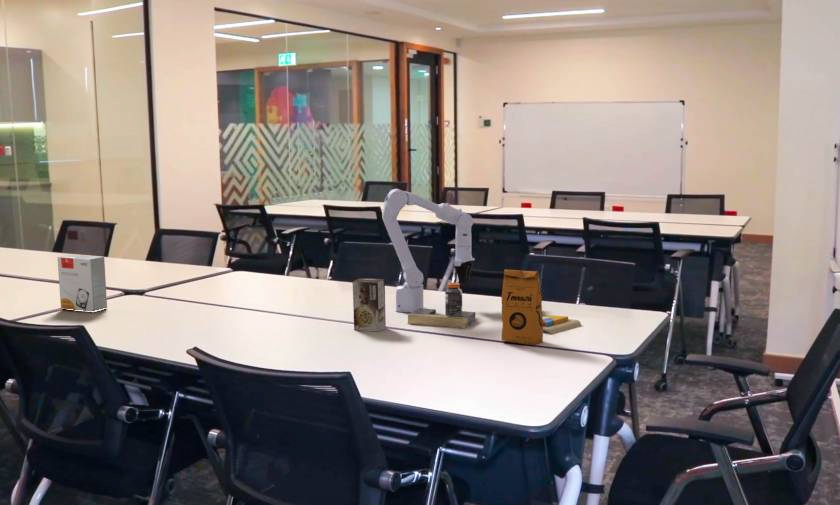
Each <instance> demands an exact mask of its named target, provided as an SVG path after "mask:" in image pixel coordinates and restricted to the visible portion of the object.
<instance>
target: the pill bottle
mask: <svg viewBox="0 0 840 505" xmlns="http://www.w3.org/2000/svg"><path fill="white" fill-rule="evenodd" d="M444 295H445V296H444V303H445V304H444V305H445V316H452V315H453V314H455V313H457V312H458V311H463V290H462V289H461V288H460V283H459V282H448V283H447V289H445V294H444Z"/></svg>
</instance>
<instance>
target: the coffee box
mask: <svg viewBox="0 0 840 505" xmlns="http://www.w3.org/2000/svg"><path fill="white" fill-rule="evenodd" d="M385 280H386V279H385V278H384V279H383V278H358V279H355V280H353V281H351V282H352V299H353V300H352V301H353V303H352V304H353V306H352V307H353V310H352V311H353V330H354V329H356V330H355V331H365V330H367V331H368V332H380V331H383V330H384V329H385V328H386V326H387V324H386V323H387V322H386V320H387V319H386V284H385Z"/></svg>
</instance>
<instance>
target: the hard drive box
mask: <svg viewBox="0 0 840 505" xmlns="http://www.w3.org/2000/svg"><path fill="white" fill-rule="evenodd" d="M57 266H58V284H59V286H58V287H59V300H60V309H61V308H66V309H73V310H83V311H95V310H99V309H103V308H107V309H108V301H107V300H108V298H107V283H106V281H107V280H106V266H105V257H104V256H101V255H100V256H97V255H87V254H85V255H83V254H68V255H67V254H66V255H61V256H57Z"/></svg>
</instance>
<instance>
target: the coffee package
mask: <svg viewBox="0 0 840 505" xmlns="http://www.w3.org/2000/svg"><path fill="white" fill-rule="evenodd" d="M539 275H540V274H539V271H538V270H537V271H533V270H516V269H504V272H503V282H502V292H501V315H502V316H501V321H502V326H501V327H502V329H501V341H502V342H509V343H514V344H520V345H530V346H538V345H539V344H540V343H543V342H544V339H543V338H544V336H543V335H544V331H543V319H542V314H543V304H542V303H543V301H542V300H543V299H542V293H541V284H540V283H541V282H540V281H541V280H540V277H539Z"/></svg>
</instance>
